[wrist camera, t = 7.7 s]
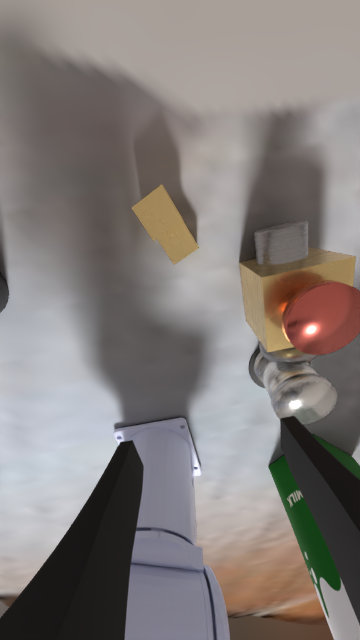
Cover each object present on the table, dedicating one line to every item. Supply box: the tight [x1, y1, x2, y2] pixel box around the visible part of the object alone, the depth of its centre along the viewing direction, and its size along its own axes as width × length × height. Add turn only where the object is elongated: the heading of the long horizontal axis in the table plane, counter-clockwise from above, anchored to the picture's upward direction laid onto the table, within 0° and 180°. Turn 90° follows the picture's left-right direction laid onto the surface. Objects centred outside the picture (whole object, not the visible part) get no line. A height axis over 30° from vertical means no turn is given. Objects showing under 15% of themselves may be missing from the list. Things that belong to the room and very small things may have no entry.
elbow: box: [132, 184, 199, 264], centre depth 14 cm, size 4×2×4 cm, turn 33°
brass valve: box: [239, 221, 360, 365], centre depth 14 cm, size 9×5×7 cm, turn 13°
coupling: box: [253, 351, 337, 425], centre depth 18 cm, size 4×4×5 cm
